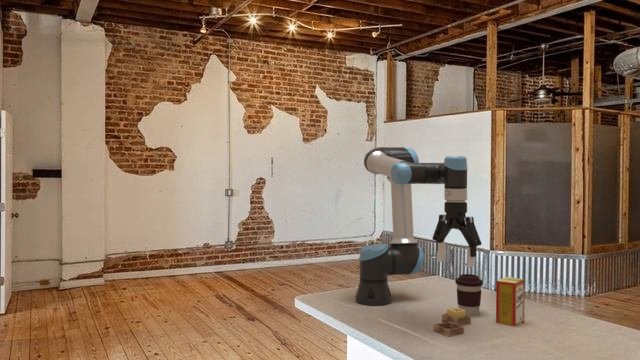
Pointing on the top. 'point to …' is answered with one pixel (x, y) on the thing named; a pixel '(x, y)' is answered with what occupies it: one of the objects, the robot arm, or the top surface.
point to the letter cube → (456, 313)
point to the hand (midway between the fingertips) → (455, 263)
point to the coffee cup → (469, 293)
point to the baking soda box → (510, 301)
